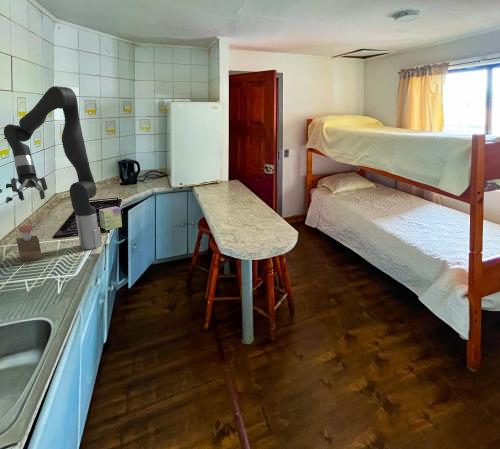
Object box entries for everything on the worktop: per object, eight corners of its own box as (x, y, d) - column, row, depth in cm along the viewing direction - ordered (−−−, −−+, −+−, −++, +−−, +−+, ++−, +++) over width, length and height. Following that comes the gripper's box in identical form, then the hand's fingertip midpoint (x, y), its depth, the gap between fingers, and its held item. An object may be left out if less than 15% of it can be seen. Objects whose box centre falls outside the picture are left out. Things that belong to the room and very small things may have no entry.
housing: (20, 256, 156) (16, 238, 154) (40, 253, 161) (36, 235, 158) (21, 262, 150) (17, 243, 148) (42, 258, 155) (38, 240, 152)
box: (117, 224, 205) (115, 206, 201) (122, 226, 201) (120, 207, 198) (100, 228, 197) (98, 209, 193) (105, 230, 194) (103, 211, 190)
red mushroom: (21, 246, 155) (17, 226, 152) (34, 244, 157) (30, 224, 155) (22, 249, 151) (18, 229, 148) (35, 247, 154) (32, 227, 151)
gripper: (10, 163, 151) (18, 198, 151) (44, 164, 163) (52, 196, 162) (4, 168, 156) (12, 202, 155) (38, 169, 167) (45, 200, 167)
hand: (32, 199), depth 159 cm, fingers open, 8 cm apart
